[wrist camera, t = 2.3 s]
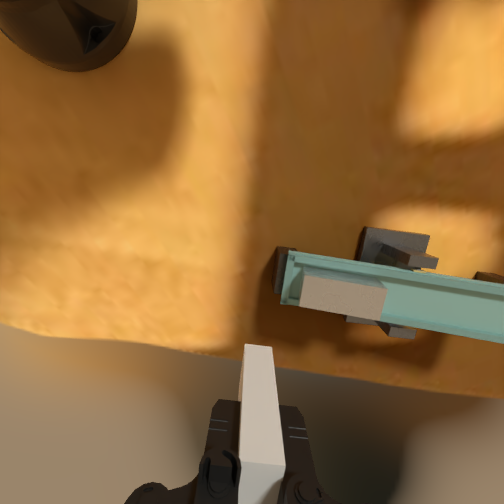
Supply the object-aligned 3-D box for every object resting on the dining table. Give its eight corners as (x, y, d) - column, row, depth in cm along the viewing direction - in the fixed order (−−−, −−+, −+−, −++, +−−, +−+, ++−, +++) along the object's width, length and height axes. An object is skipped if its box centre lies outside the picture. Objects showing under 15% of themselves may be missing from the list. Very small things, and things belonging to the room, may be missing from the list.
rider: (303, 265, 30) (304, 275, 27) (377, 278, 29) (387, 289, 26) (298, 293, 31) (299, 306, 28) (369, 306, 30) (379, 320, 27)
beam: (289, 247, 31) (288, 250, 29) (559, 290, 28) (576, 296, 26) (280, 300, 33) (279, 306, 31) (535, 346, 29) (549, 355, 28)
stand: (281, 215, 34) (289, 222, 27) (505, 244, 35) (565, 258, 28) (267, 309, 37) (270, 336, 30) (473, 333, 38) (520, 365, 31)
